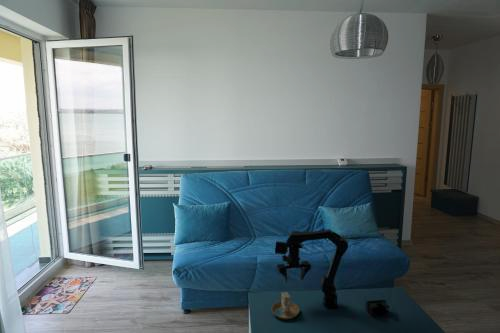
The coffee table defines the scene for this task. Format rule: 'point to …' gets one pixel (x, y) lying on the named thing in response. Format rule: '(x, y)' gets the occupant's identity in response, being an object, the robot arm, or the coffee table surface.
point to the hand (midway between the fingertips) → (293, 281)
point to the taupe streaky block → (285, 301)
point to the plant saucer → (289, 315)
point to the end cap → (377, 308)
